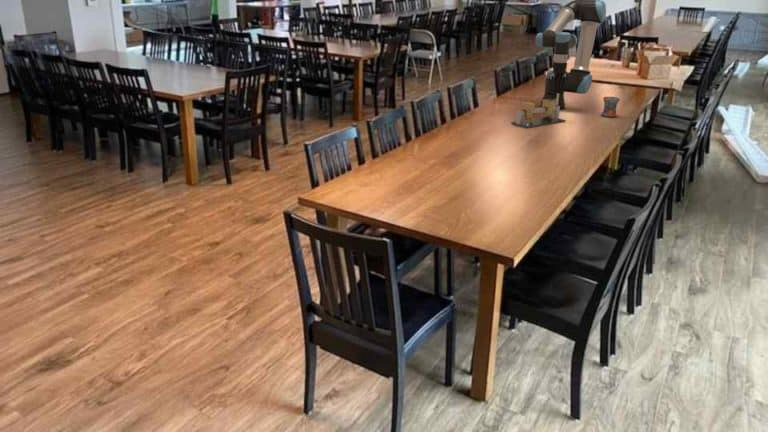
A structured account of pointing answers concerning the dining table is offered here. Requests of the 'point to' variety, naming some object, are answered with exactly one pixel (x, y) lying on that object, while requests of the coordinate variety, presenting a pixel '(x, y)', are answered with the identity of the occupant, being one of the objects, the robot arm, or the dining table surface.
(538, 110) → the dividers bar
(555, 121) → the hole plate
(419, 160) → the dining table surface
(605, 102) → the mug
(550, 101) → the block
